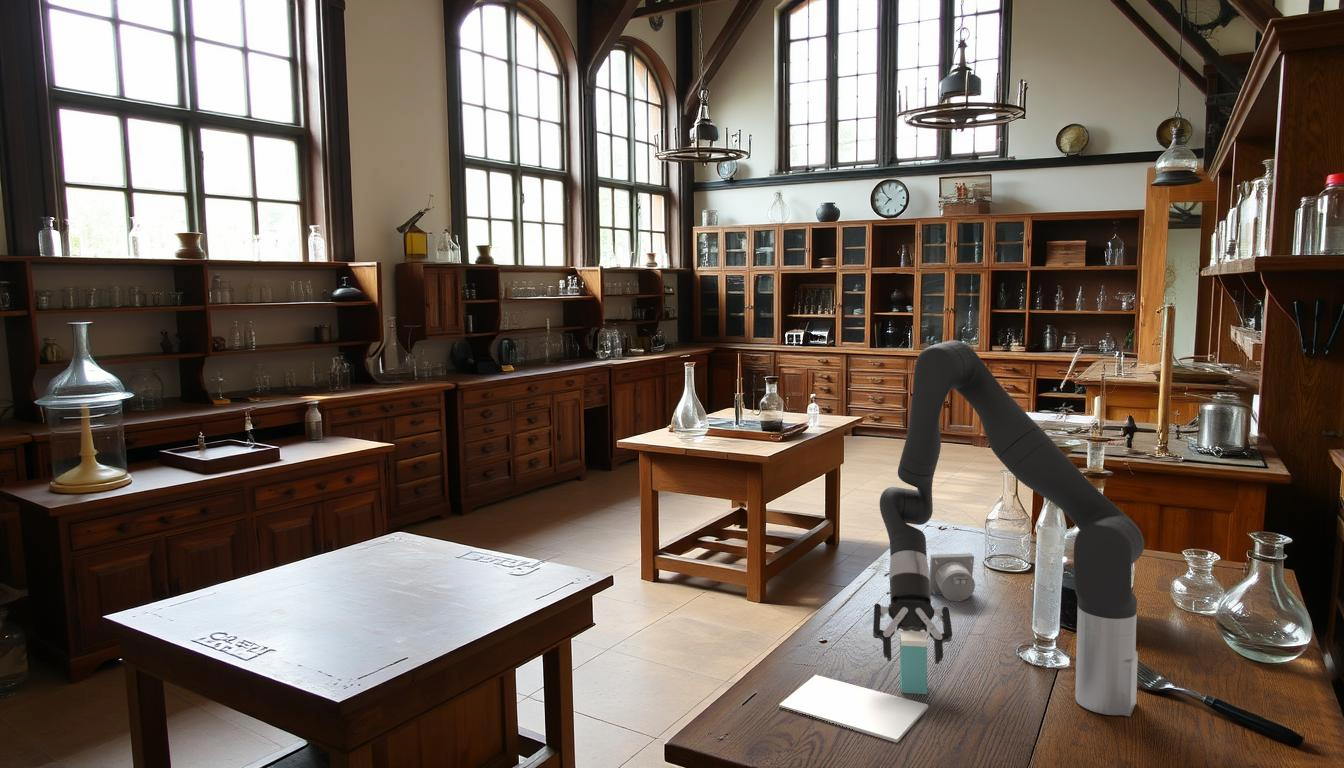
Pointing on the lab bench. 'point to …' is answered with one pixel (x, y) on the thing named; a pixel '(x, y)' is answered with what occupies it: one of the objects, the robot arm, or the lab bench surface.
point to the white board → (856, 707)
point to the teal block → (913, 662)
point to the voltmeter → (951, 575)
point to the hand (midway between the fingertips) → (913, 661)
